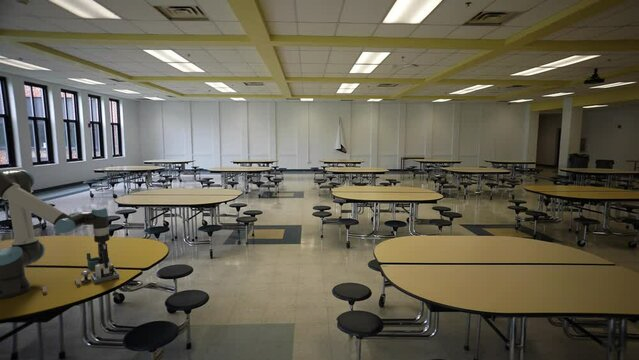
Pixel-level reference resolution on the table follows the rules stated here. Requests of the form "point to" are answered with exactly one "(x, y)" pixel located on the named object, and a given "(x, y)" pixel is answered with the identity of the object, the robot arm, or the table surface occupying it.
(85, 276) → the knob
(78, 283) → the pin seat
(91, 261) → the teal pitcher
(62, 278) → the table surface
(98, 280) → the tray
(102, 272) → the medicine bottle
